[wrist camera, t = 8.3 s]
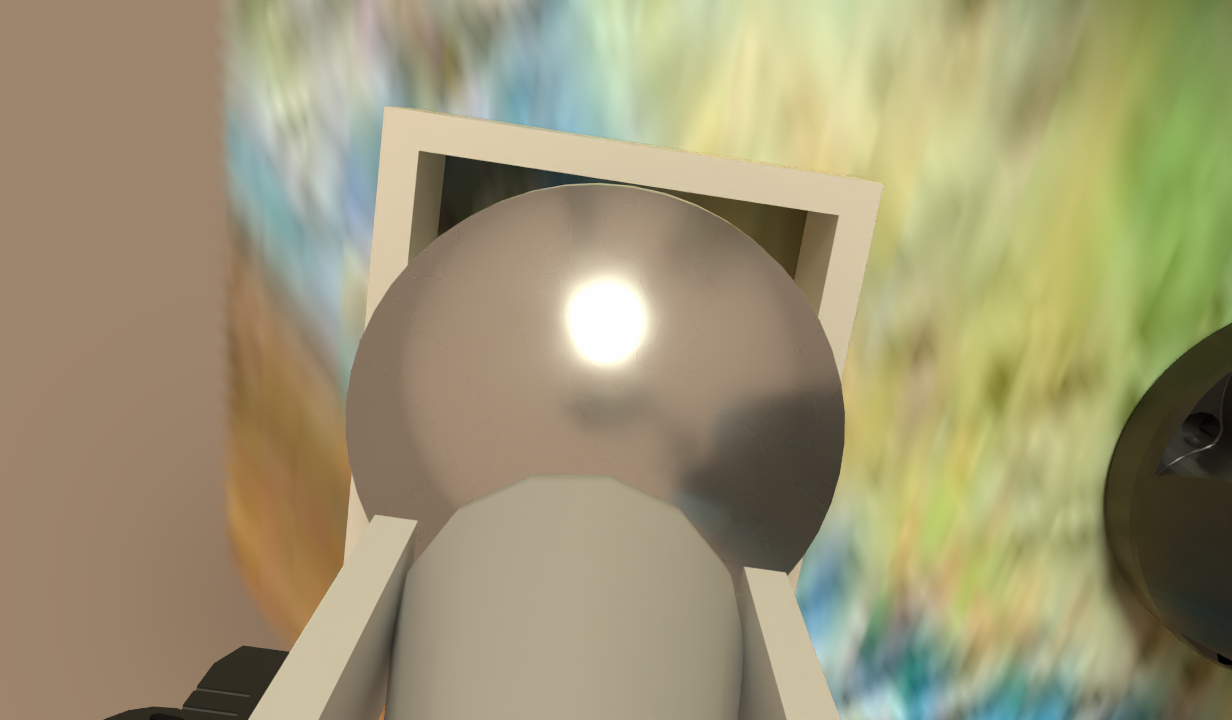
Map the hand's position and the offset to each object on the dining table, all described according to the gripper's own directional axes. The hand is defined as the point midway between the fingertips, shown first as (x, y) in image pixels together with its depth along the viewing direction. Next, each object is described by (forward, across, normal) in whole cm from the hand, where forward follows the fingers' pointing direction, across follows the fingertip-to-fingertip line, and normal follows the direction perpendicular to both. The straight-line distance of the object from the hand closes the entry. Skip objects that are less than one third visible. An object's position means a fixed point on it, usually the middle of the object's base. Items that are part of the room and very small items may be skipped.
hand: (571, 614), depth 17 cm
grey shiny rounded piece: (+16, 0, +2) cm, 16 cm away
